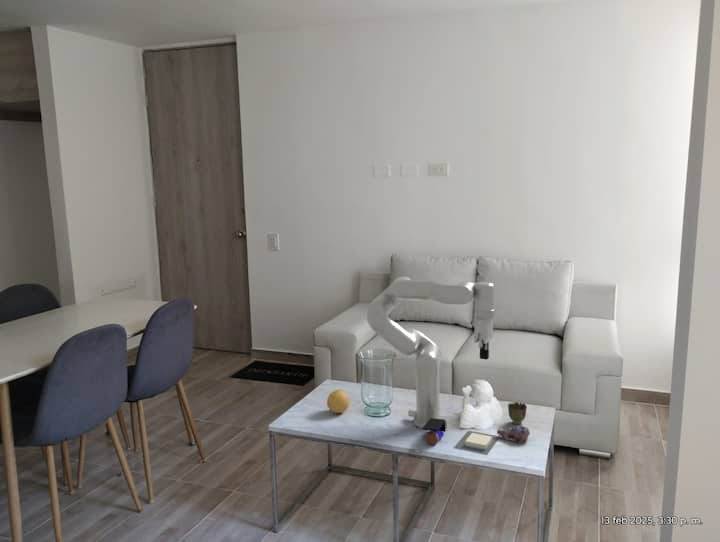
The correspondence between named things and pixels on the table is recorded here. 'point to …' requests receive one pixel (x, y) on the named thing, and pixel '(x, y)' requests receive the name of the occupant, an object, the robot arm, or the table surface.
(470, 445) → the tile
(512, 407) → the cup
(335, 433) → the table surface
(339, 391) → the orange fruit
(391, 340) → the robot arm
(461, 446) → the mat
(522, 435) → the skull
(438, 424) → the figurine character
